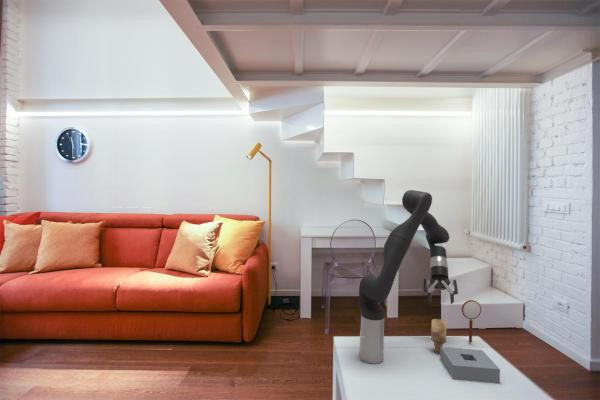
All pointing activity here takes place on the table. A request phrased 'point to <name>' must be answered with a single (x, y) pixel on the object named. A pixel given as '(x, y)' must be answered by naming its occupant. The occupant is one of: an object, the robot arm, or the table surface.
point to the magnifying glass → (471, 313)
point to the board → (469, 365)
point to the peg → (438, 333)
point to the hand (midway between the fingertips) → (441, 302)
